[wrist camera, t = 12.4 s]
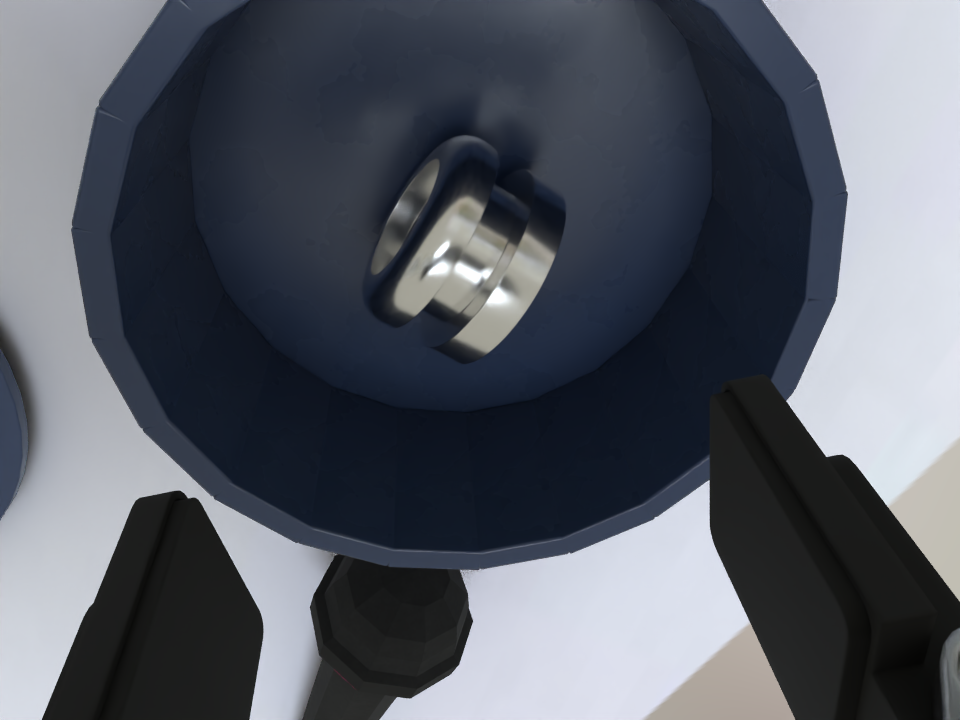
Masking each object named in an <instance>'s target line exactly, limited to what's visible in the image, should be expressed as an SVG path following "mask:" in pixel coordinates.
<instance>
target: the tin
mask: <svg viewBox="0 0 960 720" xmlns="http://www.w3.org/2000/svg"><path fill="white" fill-rule="evenodd" d="M458 135H472V136H476V137H479V138H481V139H483V140H484V141H486V142H487V143H489V144H490V145H492V146H493V147H494V148H495V149H496V150H497V153H498V170H497V176H496V180H495V184H497V183H498V182H499V181H501V180H502V179H503V178H505V177H506V176H507V175H509V174H511V173H512V172H514V171H517V170H521V169H526V170H529V171H531V172H532V173H534V174H535V175H537V176H538V177H540V178H541V179H543V180H544V181H546V182H547V183H549V184H550V185H552V186H553V187H555V188H556V189H558V190H559V191H560V192H561V193H562V194H563V196H564V198H565V202H566V222H565V227H564V232H563V236H562V240H561V243H560V246H559V249H558V252H557V254H556V257H555V259H554V262H553V264H552V266H551V269H550V271H549V273H548V275H547V277H546V279H545V281H544V283H543V285H542V286H541V288H540V290H539V292H538V294H537V295H536V297H535V299H534V300H533V302H532V303H531V305H530V306H529V308H528V309H527V311H526V312H525V314H524V315H523V317H522V318H521V319H520V321H519V322H518V323H517V324H516V326H515V327H514V328H513V329H512V331H511V332H510V333H509V334H508V335H507V336H506V337H505V338H504V339H503V341H502V342H501V343H500V344H498V345H497V346H496V347H495V348H494V349H493V350H492V351H491V352H489V353H488V354H487V355H485V356H484V357H482V358H481V359H479V360H477V361H475V362H472V363H469V364H460V363H457V362H455V361H453V360H451V359H449V358H448V357H446V356H444V355H442V354H440V353H438V352H436V351H434V350H432V349H430V348H428V347H427V346H426V345H425V344H424V343H423V341H422V338H421V330H420V328H421V318H422V313H423V312H420V313H419V314H418V315H417V316H416V317H415V318H413V319H412V320H411V321H410V322H408V323H407V324H405V325H404V326H402V327H399V328H390V327H388V326H386V325H384V324H383V323H381V322H379V321H377V320H376V319H375V318H373V317H372V316H371V315H370V313H369V312H368V311H367V309H366V307H365V305H364V302H363V298H362V280H363V275H364V271H365V267H366V264H367V261H368V258H369V255H370V252H371V250H372V247H373V245H374V243H375V240H376V238H377V236H378V234H379V232H380V230H381V228H382V226H383V224H384V222H385V220H386V218H387V216H388V214H389V212H390V210H391V209H392V207H393V205H394V203H395V202H396V200H397V198H398V197H399V195H400V193H401V192H402V190H403V189H404V187H405V186H406V184H407V183H408V181H409V180H410V178H411V177H412V175H413V174H414V173H415V171H416V170H417V169H418V167H419V166H420V165H421V163H422V162H423V161H424V160H425V159H426V158H427V156H428V155H429V154H430V153H431V152H432V151H433V150H434V149H435V148H436V147H438V146H439V145H440V144H441V143H443V142H444V141H446V140H448V139H450V138H452V137H454V136H458ZM847 196H848V193H847V191H846V184H845V180H844V176H843V172H842V168H841V164H840V160H839V156H838V152H837V149H836V145H835V141H834V137H833V133H832V129H831V125H830V121H829V117H828V113H827V110H826V106H825V102H824V98H823V94H822V90H821V86H820V82H819V80H818V79H817V74H816V73H815V71H814V70H813V69H812V67H811V66H810V65H809V63H808V62H807V61H806V59H805V58H804V57H803V55H802V54H801V52H800V51H799V50H798V48H797V47H796V46H795V44H794V43H793V42H792V40H791V39H790V38H789V36H788V35H787V33H786V32H785V31H784V29H783V28H782V27H781V25H780V24H779V23H778V21H777V20H776V19H775V17H774V16H773V14H772V13H771V12H770V10H769V9H768V8H767V6H766V5H765V4H764V2H763V1H762V0H167V2H166V3H165V5H164V6H163V8H162V9H161V10H160V12H159V13H158V15H157V16H156V18H155V19H154V21H153V22H152V24H151V25H150V27H149V28H148V30H147V31H146V32H145V34H144V35H143V37H142V38H141V40H140V41H139V43H138V44H137V46H136V47H135V49H134V50H133V52H132V53H131V55H130V56H129V57H128V59H127V60H126V62H125V63H124V65H123V66H122V68H121V69H120V71H119V72H118V74H117V75H116V77H115V78H114V79H113V81H112V82H111V84H110V85H109V87H108V88H107V90H106V91H105V93H104V94H103V96H102V97H101V99H100V100H99V106H98V107H97V108H96V110H95V115H94V119H93V124H92V129H91V134H90V138H89V143H88V148H87V153H86V157H85V162H84V167H83V172H82V176H81V181H80V186H79V191H78V195H77V200H76V205H75V210H74V214H73V219H72V226H73V227H72V229H71V231H72V237H73V243H74V249H75V255H76V261H77V267H78V273H79V278H80V284H81V290H82V296H83V302H84V308H85V314H86V319H87V325H88V331H89V336H90V338H92V343H93V345H94V346H95V348H96V350H97V352H98V353H99V355H100V357H101V359H102V361H103V362H104V364H105V366H106V368H107V369H108V371H109V373H110V375H111V377H112V378H113V380H114V382H115V384H116V385H117V387H118V389H119V391H120V393H121V394H122V396H123V398H124V400H125V402H126V403H127V405H128V407H129V409H130V410H131V412H132V414H133V416H134V418H135V419H136V421H137V423H138V425H139V426H140V427H141V428H143V431H144V433H145V434H146V435H147V436H149V437H150V438H151V439H152V440H153V441H154V442H155V443H156V444H157V445H158V446H159V447H160V448H161V449H162V450H163V451H164V452H165V453H166V454H168V455H169V456H170V457H171V458H172V459H173V460H174V461H175V462H176V463H177V464H178V465H179V466H180V467H181V468H182V469H183V470H184V471H186V472H187V473H188V474H189V475H190V476H191V477H192V478H193V479H194V480H195V481H196V482H197V483H198V484H199V485H200V486H201V487H202V488H204V489H205V490H206V491H207V492H208V493H209V494H210V495H211V496H214V499H215V500H217V501H219V502H221V503H223V504H224V505H226V506H228V507H230V508H232V509H234V510H236V511H238V512H239V513H241V514H243V515H245V516H247V517H249V518H251V519H252V520H254V521H256V522H258V523H260V524H262V525H264V526H266V527H267V528H269V529H271V530H273V531H275V532H277V533H279V534H280V535H282V536H284V537H286V538H288V539H290V540H292V541H293V542H295V543H298V542H299V543H300V544H303V545H306V546H310V547H314V548H318V549H322V550H326V551H329V552H333V553H337V554H341V555H345V556H349V557H352V558H356V559H360V560H364V561H368V562H372V563H376V564H379V565H383V566H387V565H388V566H389V567H403V568H432V569H461V570H479V569H487V568H492V567H498V566H503V565H509V564H514V563H520V562H526V561H531V560H537V559H542V558H548V557H553V556H559V555H565V554H568V553H574V552H576V551H578V550H581V549H583V548H586V547H588V546H591V545H593V544H595V543H598V542H600V541H603V540H605V539H607V538H610V537H612V536H615V535H617V534H620V533H622V532H624V531H627V530H629V529H632V528H634V527H637V526H639V525H641V524H644V523H646V522H649V521H651V520H653V519H654V517H658V516H659V515H660V514H662V513H663V512H665V511H666V510H667V509H669V508H670V507H672V506H673V505H674V504H676V503H677V502H679V501H680V500H681V499H683V498H684V497H686V496H687V495H689V494H690V493H691V492H693V491H694V490H696V489H697V488H698V487H700V486H701V485H703V484H704V483H705V482H707V481H708V480H710V397H711V395H713V394H718V393H721V387H722V384H723V383H724V382H726V381H731V380H736V379H741V378H746V377H751V376H756V375H761V374H764V375H766V376H767V377H768V378H769V379H770V380H771V381H772V383H773V384H774V385H775V387H776V388H777V390H778V391H779V392H780V394H781V395H782V396H783V398H784V399H785V401H786V400H787V399H788V398H789V397H790V396H791V395H792V393H793V392H794V390H795V389H796V387H797V385H798V382H799V380H800V378H801V376H802V374H803V371H804V369H805V367H806V365H807V363H808V360H809V358H810V356H811V354H812V351H813V349H814V347H815V345H816V343H817V340H818V338H819V336H820V334H821V332H822V329H823V327H824V325H825V323H826V321H827V318H828V316H829V314H830V312H831V310H832V307H833V305H834V303H835V301H836V297H837V289H838V280H839V270H840V261H841V252H842V243H843V233H844V224H845V215H846V205H847Z"/></svg>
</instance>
